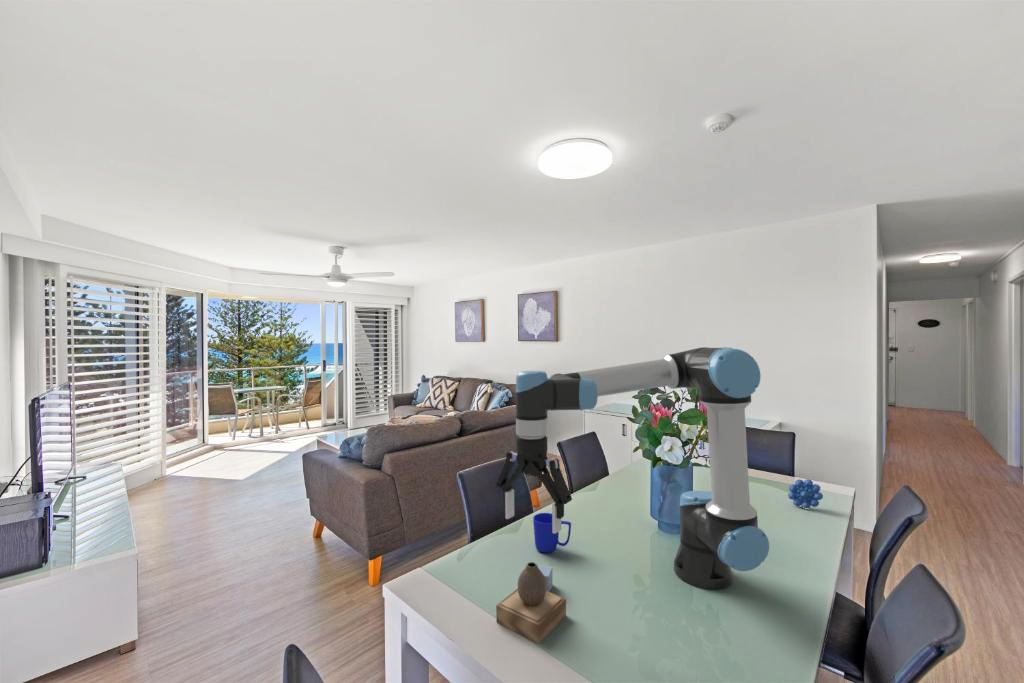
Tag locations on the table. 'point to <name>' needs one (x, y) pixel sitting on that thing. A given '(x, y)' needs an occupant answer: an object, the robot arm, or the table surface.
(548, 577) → the block
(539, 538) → the mug
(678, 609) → the table surface
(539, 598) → the vase
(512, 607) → the plinth
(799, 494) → the grapes
